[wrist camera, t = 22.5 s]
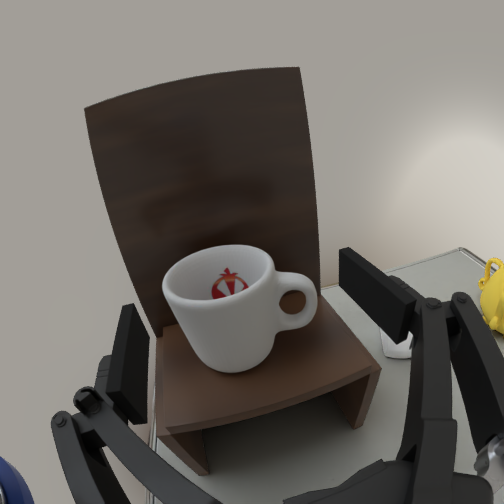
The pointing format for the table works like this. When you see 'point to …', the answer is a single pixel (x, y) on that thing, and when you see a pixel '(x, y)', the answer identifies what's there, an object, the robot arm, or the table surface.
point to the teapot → (493, 296)
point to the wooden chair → (224, 239)
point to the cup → (234, 304)
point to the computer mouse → (396, 346)
